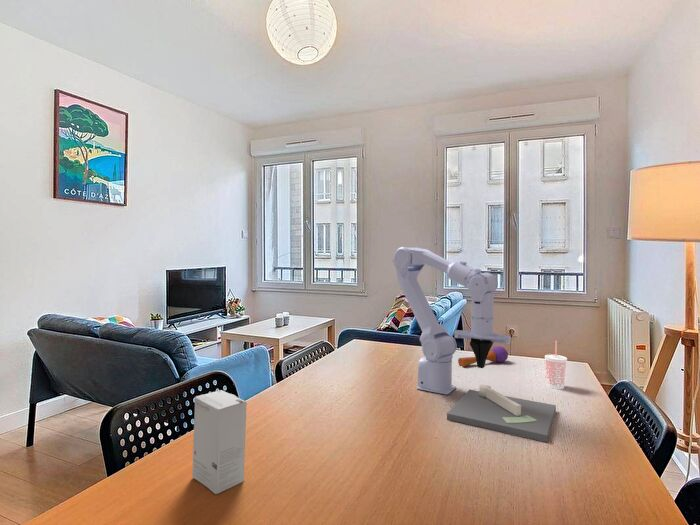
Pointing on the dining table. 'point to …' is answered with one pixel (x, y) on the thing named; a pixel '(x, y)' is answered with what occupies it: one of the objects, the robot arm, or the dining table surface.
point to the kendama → (494, 355)
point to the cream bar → (500, 399)
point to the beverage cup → (555, 370)
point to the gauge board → (504, 416)
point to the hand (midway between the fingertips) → (481, 367)
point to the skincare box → (219, 440)
